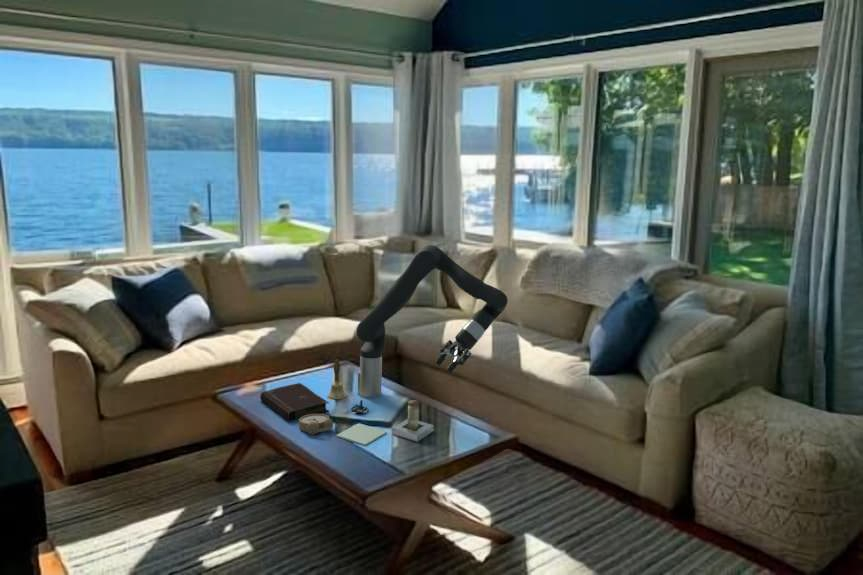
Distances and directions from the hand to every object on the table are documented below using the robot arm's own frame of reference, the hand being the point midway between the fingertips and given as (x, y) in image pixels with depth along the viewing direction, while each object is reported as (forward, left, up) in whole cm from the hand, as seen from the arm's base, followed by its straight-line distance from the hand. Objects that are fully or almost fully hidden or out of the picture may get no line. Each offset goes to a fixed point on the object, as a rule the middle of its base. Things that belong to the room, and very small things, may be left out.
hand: (442, 367), depth 239 cm
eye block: (-6, -10, -24) cm, 26 cm away
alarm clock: (-37, -28, -24) cm, 52 cm away
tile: (-20, -23, -24) cm, 38 cm away
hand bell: (-52, +2, -24) cm, 57 cm away
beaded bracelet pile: (-34, -6, -24) cm, 42 cm away
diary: (-58, -17, -24) cm, 65 cm away
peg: (-6, -10, -24) cm, 27 cm away
